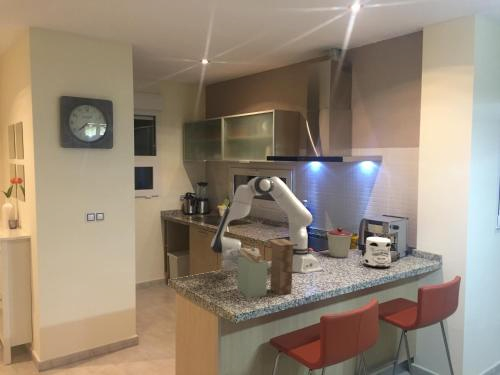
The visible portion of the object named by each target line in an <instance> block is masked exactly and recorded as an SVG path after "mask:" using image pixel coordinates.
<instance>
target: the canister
mask: <svg viewBox="0 0 500 375" xmlns="http://www.w3.org/2000/svg"><path fill="white" fill-rule="evenodd" d="M326 234H327V244H328V245H327V246H328V254H329V255H330V257H333V258H337V259H339V258H342V259H344V258H346V257H348V256H349V252H350V249H349V248H350V242H351V236H352V233H351V232H349V231H347V230H343V228H342V227H341V226H339V227H337V230H334V229H333V230H329V231H328V232H327V231H326Z"/></svg>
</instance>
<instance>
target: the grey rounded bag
mask: <svg viewBox="0 0 500 375" xmlns="http://www.w3.org/2000/svg"><path fill="white" fill-rule="evenodd" d="M399 252H400V251H399ZM399 252H396V251H390V255H391V262H395V261H396V260H398V258H399V257H400V256H399ZM397 255H398V256H397ZM397 257H398V258H397ZM394 260H395V261H394Z"/></svg>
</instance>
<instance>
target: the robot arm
mask: <svg viewBox="0 0 500 375" xmlns="http://www.w3.org/2000/svg"><path fill="white" fill-rule="evenodd" d="M267 194H269V195H270V196H271V197H272V198H273V199H274V201H275V202H276V203H277V205H278V206H279V207H280V208H281V209H282V210H283V212H285V213H286V215H287V219H288V228H289V241H291V242H293V243H296V244H297V246H293V267H292V273H300V274H301V273H302V274H309V273H315V272H319V271H322V269H323V268H322V267H321V266H319V262H318V258H316V257H315V256H313V255H312V254H311V253H310V252H313V251H314V250H313V248H311V247H310V248H309V247H308V242H309V241H308V237H309V236H308V231H307V227H308V226H310V225H311V224H312V222H313V216H312V214H311V212H310V211H309V209H307V207H305V206H304V204H303V203H302V202H301V201H300V200H299V199H298V198H297V197H296V196H295V195H294V193H293V192H292V191H291V189H290V188H289V187H288V185H287V184H285V182H284V181H282V180H281V179H280V178H279V177H278V176H272V177H270V178H269V177H267V176H255V177H254V178H251V179H249V180H248V182H247V183H246V184H240V185H238V186H237V188H236V190H235V193H234V196H233V198H232V204H231V205H230V207H229V208H228V209H227V208H226V210H225V211H224V212H223V214H222V217H221V219H220V220H219V224H218V226H217V229H216V232H215V233H214V236H213V238H212V240H211V243H210V248H211V250H212V252H213V253H214V254H222V255H221V256H220V259H221V260H222V261H221V267H222V269H224V270H225V271H227V272H229V271H234V270H235V269H238V257H244V256H242V255H241V254H240V248H244V245H243V243H242V242H243V241H241V239H237V238H232V237H227V236H224V234H225V232H226V230H227V227H228V224H229V223H230V222H232V221H234V220H239V219H243V218H245V217H247V216H248V215H249V214H250V212H251V207H252V202H253V199H254V197H257V196H263V195H267ZM248 249H249V250H251V251H253V252H255V253H257V254H259V255H260V250H259V248H258V247H257V248H256V247H251V248H248Z"/></svg>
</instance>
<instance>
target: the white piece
mask: <svg viewBox="0 0 500 375" xmlns="http://www.w3.org/2000/svg"><path fill="white" fill-rule="evenodd" d="M391 244H392V242H391V238H390V239H389V238H386V237H380V236H379V237H378V236H369V237H366V239H365V251H364V254H363V255H364V256H363V262H364V264H365V265H367V266H369V267H372V268H380V269H381V268H388V267H389V266H391V264H392V263H391V262H392V261H391V255H390V248H391Z"/></svg>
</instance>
